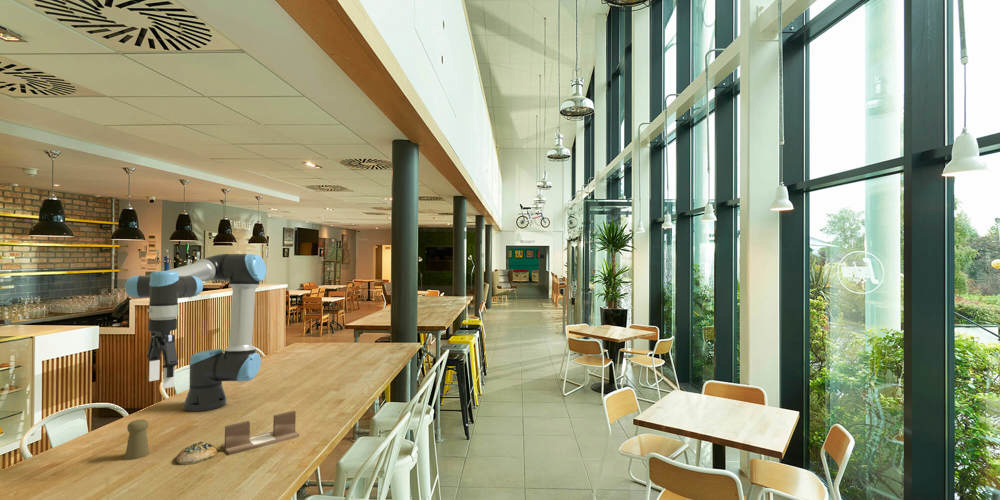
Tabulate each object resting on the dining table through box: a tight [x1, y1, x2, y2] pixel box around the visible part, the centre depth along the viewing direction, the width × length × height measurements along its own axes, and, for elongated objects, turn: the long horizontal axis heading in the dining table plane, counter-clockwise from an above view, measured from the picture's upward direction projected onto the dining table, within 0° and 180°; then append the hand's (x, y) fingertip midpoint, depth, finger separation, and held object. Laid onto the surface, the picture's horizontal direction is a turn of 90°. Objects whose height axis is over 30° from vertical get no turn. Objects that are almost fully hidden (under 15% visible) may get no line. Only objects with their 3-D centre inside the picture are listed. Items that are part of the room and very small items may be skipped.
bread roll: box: [175, 440, 218, 466], centre depth 143 cm, size 11×11×5 cm
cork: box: [124, 418, 150, 461], centre depth 144 cm, size 6×6×11 cm
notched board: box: [221, 410, 300, 456], centre depth 155 cm, size 9×22×8 cm, turn 135°
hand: (161, 383), depth 147 cm, fingers open, 13 cm apart
